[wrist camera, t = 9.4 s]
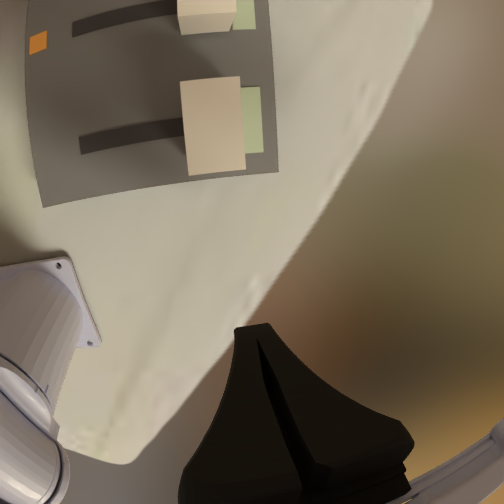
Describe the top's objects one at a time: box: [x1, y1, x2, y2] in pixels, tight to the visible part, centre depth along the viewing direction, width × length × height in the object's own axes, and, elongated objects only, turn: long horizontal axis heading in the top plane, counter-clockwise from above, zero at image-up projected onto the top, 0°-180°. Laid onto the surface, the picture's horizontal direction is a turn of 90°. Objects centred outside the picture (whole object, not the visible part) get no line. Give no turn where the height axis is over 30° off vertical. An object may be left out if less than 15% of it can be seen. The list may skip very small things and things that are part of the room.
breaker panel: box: [25, 0, 279, 208], centre depth 12 cm, size 14×20×2 cm
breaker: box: [180, 76, 246, 176], centre depth 13 cm, size 2×4×3 cm, turn 3°
